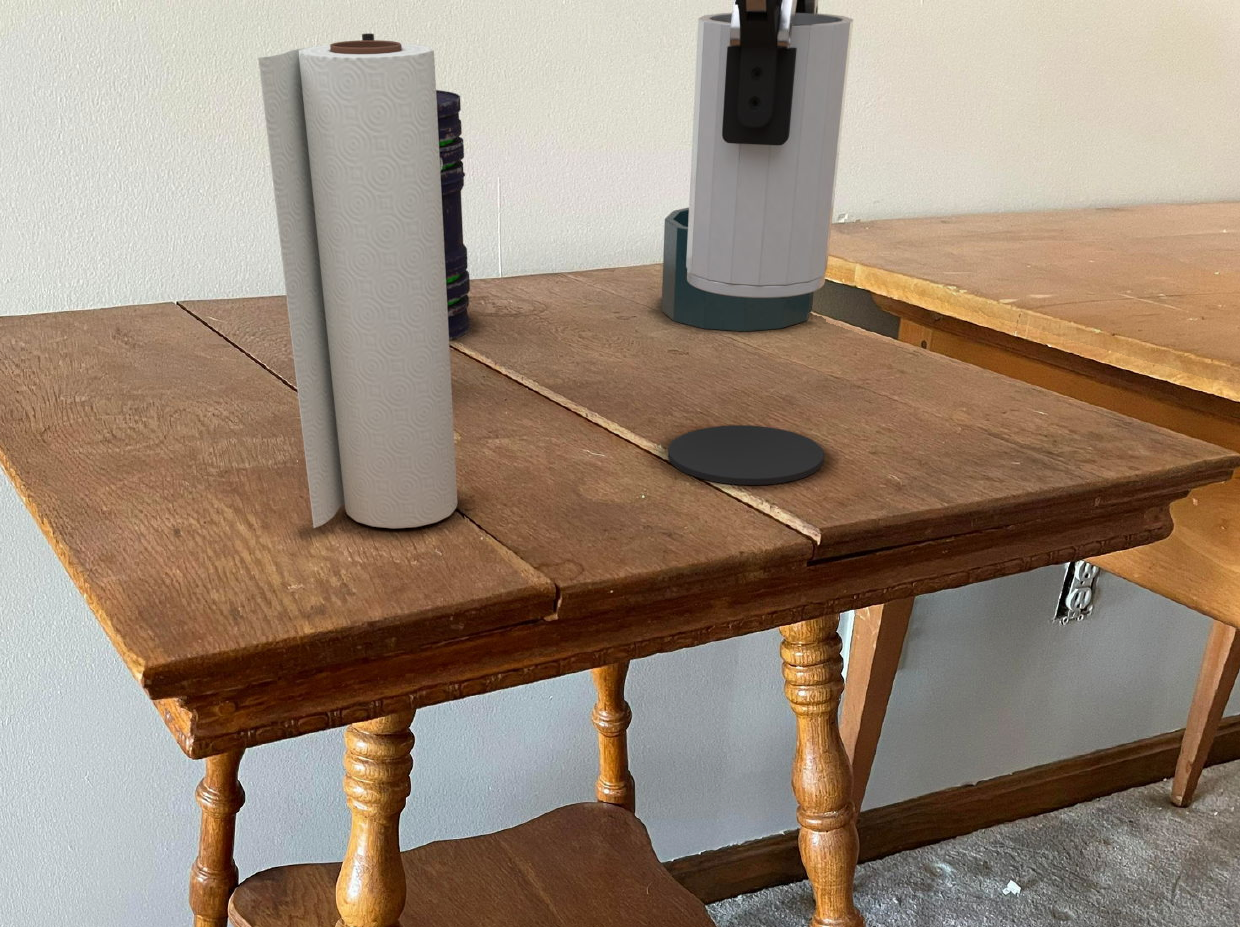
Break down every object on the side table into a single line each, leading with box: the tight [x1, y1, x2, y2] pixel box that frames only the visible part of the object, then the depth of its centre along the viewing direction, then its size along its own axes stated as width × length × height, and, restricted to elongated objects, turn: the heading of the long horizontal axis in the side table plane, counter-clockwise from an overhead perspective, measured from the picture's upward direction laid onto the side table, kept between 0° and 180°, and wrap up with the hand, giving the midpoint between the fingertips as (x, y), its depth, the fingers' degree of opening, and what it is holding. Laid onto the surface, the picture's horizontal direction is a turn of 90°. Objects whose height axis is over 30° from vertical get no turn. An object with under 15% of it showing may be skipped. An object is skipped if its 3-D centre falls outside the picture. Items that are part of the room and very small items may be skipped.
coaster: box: [667, 424, 825, 486], centre depth 80 cm, size 9×9×1 cm
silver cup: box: [686, 12, 854, 298], centre depth 71 cm, size 7×7×12 cm
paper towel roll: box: [257, 39, 458, 529], centre depth 68 cm, size 7×6×21 cm
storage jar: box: [436, 89, 471, 341], centre depth 98 cm, size 10×10×15 cm
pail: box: [661, 206, 815, 332], centre depth 104 cm, size 11×11×6 cm
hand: (768, 127), depth 70 cm, fingers closed on silver cup, 7 cm apart
